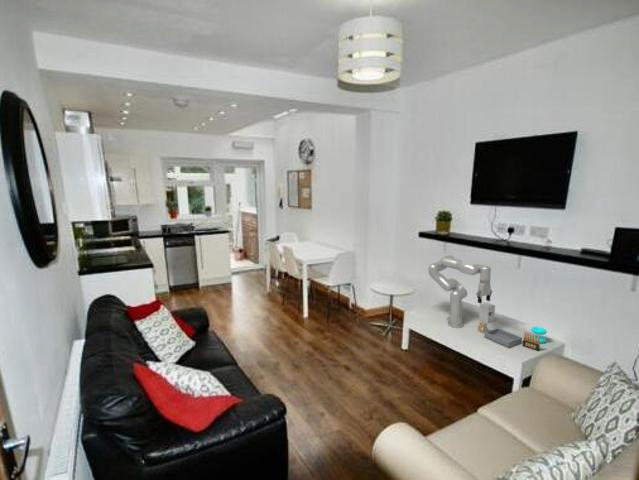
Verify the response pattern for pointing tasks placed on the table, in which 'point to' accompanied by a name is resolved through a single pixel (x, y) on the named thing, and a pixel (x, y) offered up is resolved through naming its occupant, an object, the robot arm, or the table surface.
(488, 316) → the supplement box
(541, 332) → the donuts
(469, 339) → the table surface
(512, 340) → the tray
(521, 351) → the table surface
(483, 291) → the robot arm
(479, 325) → the birch block
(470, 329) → the table surface
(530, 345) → the ammunition clip
